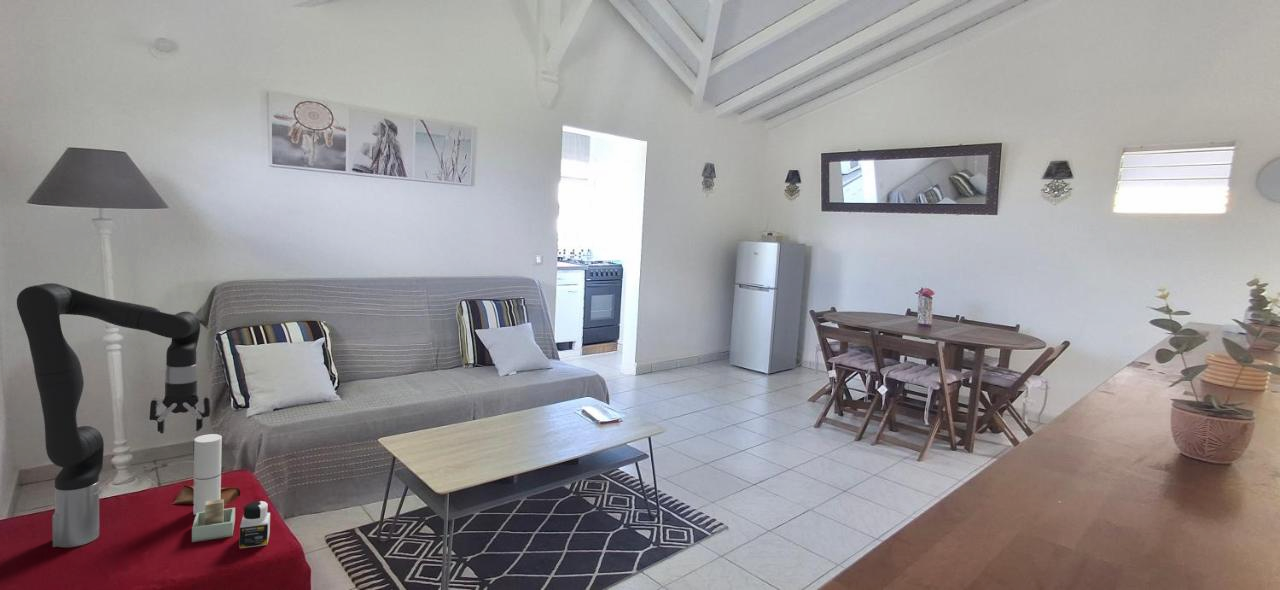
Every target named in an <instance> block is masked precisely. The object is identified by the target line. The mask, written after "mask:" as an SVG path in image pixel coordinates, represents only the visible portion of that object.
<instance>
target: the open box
mask: <svg viewBox="0 0 1280 590" xmlns="http://www.w3.org/2000/svg"><path fill="white" fill-rule="evenodd" d="M194 516H195V515H194ZM235 523H236V507H229V508H224V519H223V523H222V522H216V523H209V524H206V525H205V511H204V512H197V513H196V516H195V517H194V520H193V524H192V527H191V543H197V542H205V541H210V540H216V539H223V538H224V539H225V538H231V537H233V535H234V528H235Z"/></svg>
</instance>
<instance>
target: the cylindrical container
mask: <svg viewBox="0 0 1280 590" xmlns="http://www.w3.org/2000/svg"><path fill="white" fill-rule="evenodd" d="M222 440H223V437H222V435H220V434H217V433H210V434H203V435H199V436H196V437H195V438H194V446H193V447H194V448H193V449H194V452H193V453H194V455H193V456H194V457H193V461H194V462H193V486H194V505H192V506H193V511H192V512H193V513H192V514H193V515H194V516H195V515H196V513H197V512H204V511H205V504H206V501H212V500H220V499H221V488H222V487H221V486H222V446H223V445H222V444H223V443H222V442H223V441H222Z"/></svg>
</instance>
